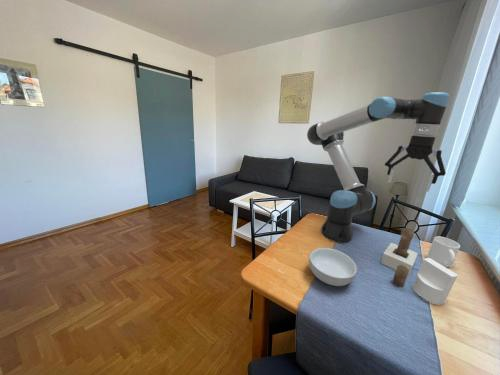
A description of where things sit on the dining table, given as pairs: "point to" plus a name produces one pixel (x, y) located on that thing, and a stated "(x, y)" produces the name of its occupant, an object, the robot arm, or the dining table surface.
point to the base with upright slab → (434, 281)
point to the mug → (443, 251)
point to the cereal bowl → (332, 266)
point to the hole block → (398, 258)
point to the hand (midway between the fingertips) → (407, 186)
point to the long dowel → (404, 242)
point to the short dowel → (400, 276)
